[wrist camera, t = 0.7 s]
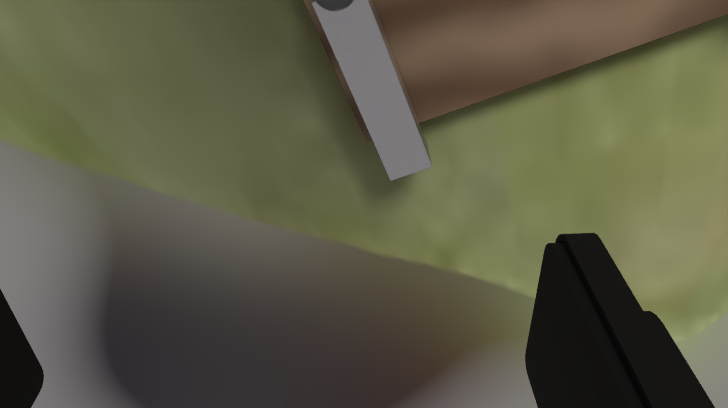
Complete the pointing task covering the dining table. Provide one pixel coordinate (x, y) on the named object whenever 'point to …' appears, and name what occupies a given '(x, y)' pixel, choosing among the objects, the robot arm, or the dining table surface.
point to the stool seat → (510, 42)
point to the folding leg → (375, 83)
